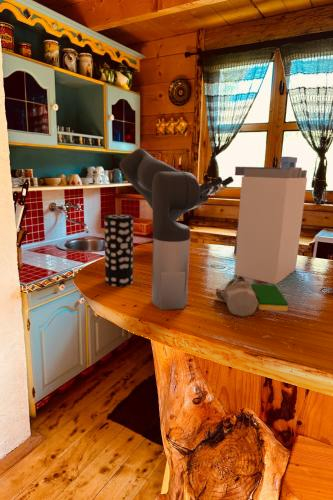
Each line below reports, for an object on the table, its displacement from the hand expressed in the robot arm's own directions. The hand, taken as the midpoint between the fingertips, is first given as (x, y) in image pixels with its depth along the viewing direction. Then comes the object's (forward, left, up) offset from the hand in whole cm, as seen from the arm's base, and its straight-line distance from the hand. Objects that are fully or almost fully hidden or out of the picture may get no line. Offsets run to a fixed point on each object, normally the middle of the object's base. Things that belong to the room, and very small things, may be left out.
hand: (227, 178), depth 124 cm
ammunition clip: (+8, -13, -31) cm, 35 cm away
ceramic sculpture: (-46, +9, -31) cm, 56 cm away
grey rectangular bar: (-11, -10, +1) cm, 15 cm away
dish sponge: (-42, 0, -31) cm, 52 cm away
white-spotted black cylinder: (-25, +40, -31) cm, 56 cm away
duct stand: (-18, -10, -31) cm, 37 cm away
